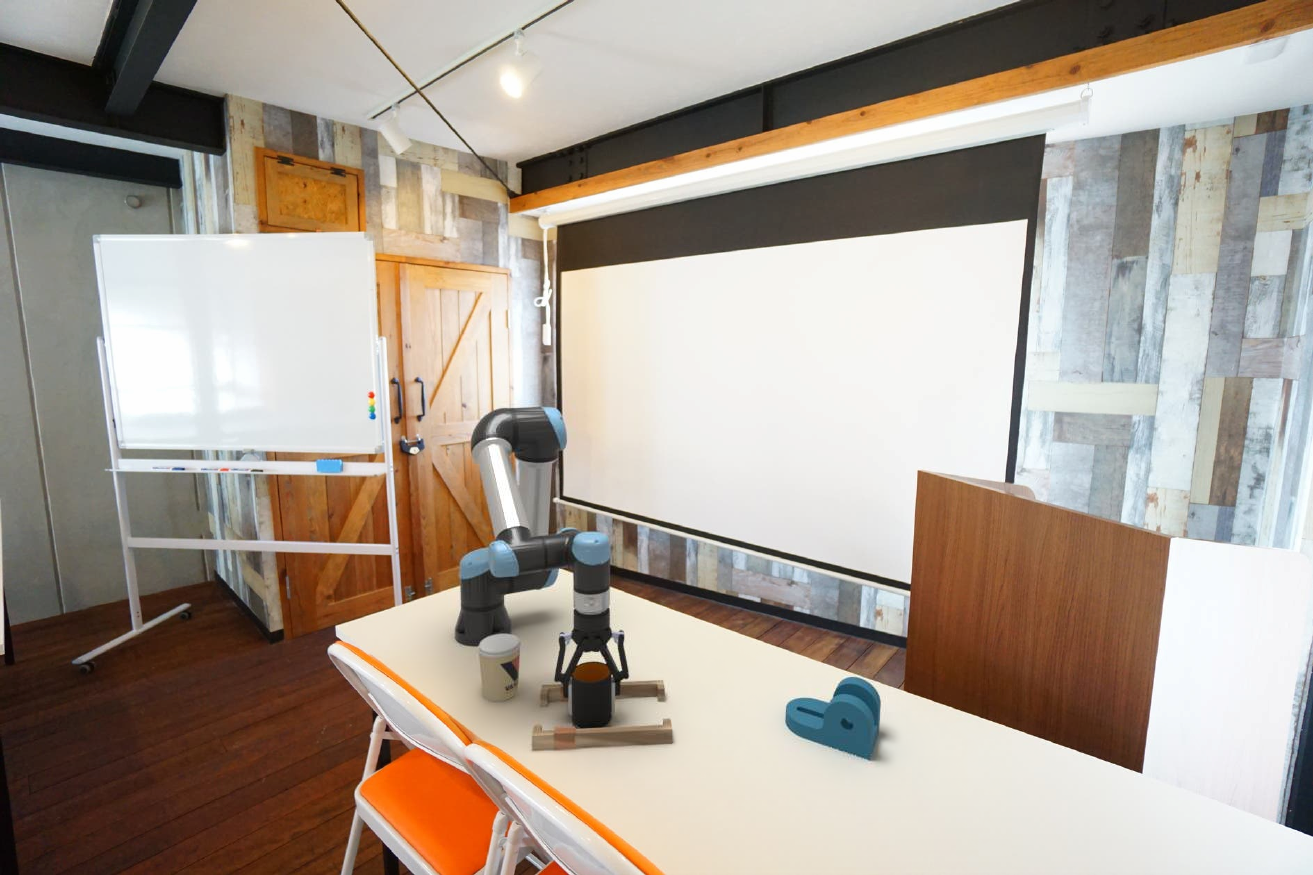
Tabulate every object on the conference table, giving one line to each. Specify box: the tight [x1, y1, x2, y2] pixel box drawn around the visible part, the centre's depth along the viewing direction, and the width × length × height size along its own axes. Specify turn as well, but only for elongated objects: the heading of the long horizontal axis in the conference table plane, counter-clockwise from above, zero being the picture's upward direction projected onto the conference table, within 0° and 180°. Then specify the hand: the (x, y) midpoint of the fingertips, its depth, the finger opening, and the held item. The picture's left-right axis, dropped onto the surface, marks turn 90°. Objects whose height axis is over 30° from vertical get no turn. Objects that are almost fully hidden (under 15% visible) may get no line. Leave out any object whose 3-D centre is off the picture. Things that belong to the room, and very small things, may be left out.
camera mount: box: [784, 676, 882, 762], centre depth 117 cm, size 18×10×10 cm, turn 59°
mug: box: [571, 660, 613, 729], centre depth 120 cm, size 8×12×10 cm
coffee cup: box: [477, 633, 521, 702], centre depth 130 cm, size 9×9×12 cm
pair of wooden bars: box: [531, 679, 673, 751], centre depth 121 cm, size 18×28×3 cm
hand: (591, 709), depth 121 cm, fingers closed on mug, 8 cm apart
